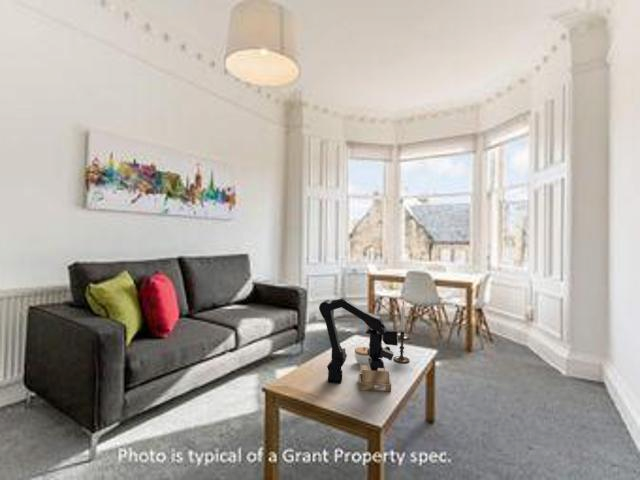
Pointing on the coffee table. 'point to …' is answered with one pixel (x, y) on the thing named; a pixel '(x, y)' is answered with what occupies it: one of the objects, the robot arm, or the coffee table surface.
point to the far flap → (367, 367)
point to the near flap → (375, 376)
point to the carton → (373, 385)
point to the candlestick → (402, 337)
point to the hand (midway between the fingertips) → (374, 375)
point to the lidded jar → (362, 355)
